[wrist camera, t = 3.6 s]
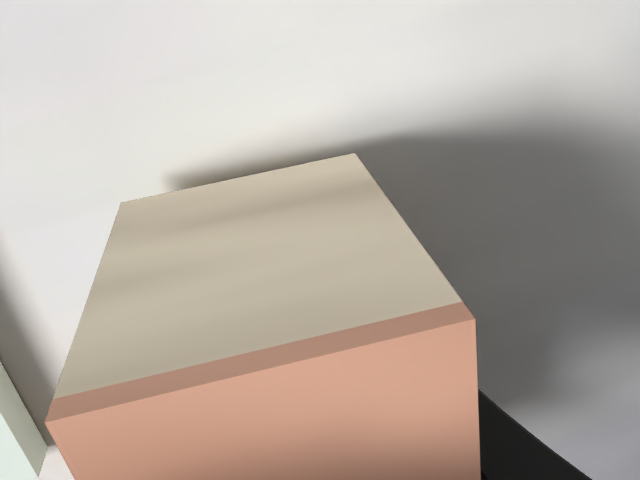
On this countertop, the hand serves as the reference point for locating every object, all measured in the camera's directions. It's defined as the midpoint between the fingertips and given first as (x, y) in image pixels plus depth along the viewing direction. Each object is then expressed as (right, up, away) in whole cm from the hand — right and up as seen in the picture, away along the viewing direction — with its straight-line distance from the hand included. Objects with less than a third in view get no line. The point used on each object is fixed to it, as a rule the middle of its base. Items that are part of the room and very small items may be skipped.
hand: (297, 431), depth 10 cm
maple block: (0, +1, +2) cm, 2 cm away
